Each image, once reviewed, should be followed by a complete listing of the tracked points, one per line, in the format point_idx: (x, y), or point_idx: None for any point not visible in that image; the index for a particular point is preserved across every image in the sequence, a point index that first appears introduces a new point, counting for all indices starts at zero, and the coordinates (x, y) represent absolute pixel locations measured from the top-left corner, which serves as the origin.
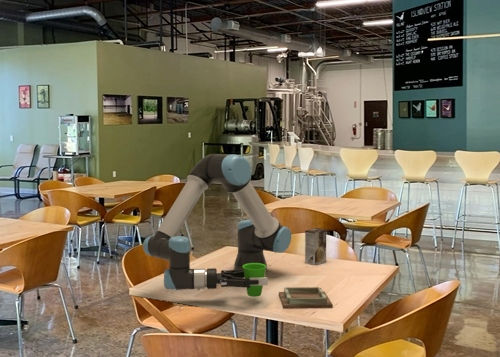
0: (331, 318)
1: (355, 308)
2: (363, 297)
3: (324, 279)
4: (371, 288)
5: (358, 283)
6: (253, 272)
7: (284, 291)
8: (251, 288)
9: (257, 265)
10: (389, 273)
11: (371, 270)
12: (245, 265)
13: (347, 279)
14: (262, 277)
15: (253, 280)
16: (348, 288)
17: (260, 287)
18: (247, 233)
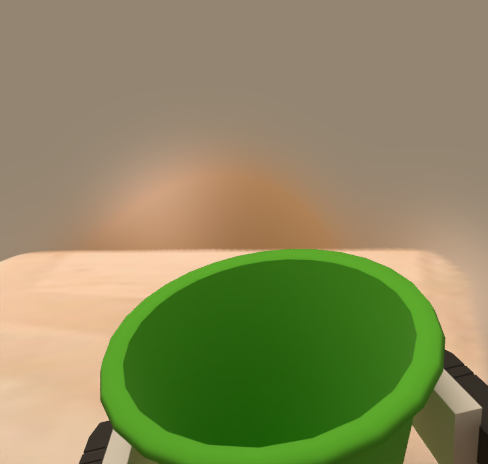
0: (402, 263)
1: None
2: (213, 253)
3: (25, 321)
4: (150, 254)
5: (105, 270)
6: (405, 330)
7: None
8: None
9: (151, 330)
10: (61, 252)
11: (20, 269)
12: (174, 436)
13: (60, 286)
14: (319, 339)
15: (469, 384)
16: (138, 276)
17: (333, 424)
18: None
